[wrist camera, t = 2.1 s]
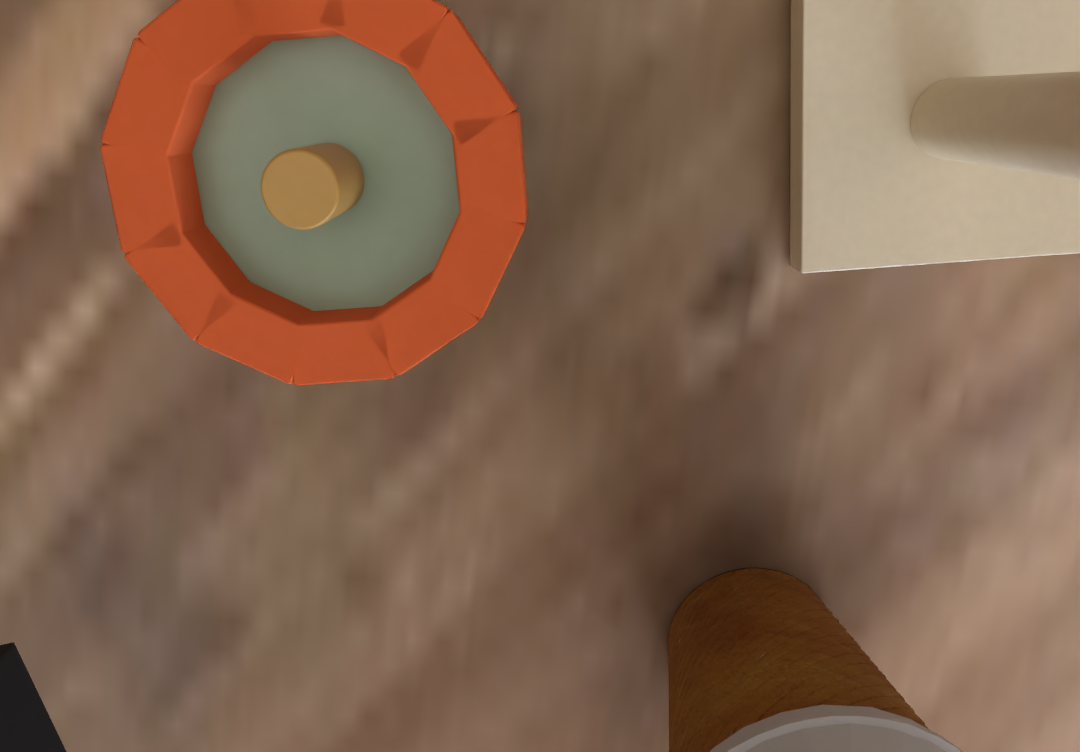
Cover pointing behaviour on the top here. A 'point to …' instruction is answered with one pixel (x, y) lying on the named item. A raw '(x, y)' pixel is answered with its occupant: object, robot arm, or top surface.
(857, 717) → the disposable coffee cup
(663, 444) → the top surface
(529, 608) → the top surface
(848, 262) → the tall post
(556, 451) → the top surface
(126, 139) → the ring
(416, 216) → the green cylinder with peg
